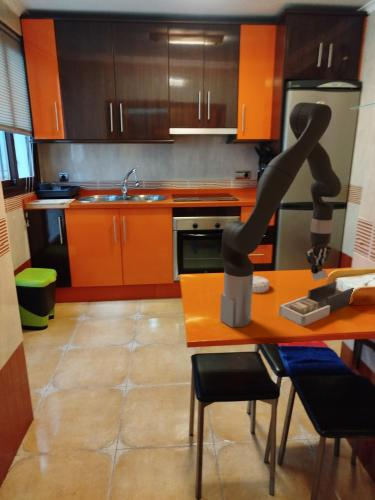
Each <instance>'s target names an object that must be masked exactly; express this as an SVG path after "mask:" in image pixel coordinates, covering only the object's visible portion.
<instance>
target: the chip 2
mask: <svg viewBox="0 0 375 500" xmlns="http://www.w3.org/2000/svg"><path fill="white" fill-rule="evenodd" d="M301 303H302V304H304V305H307V306H308V311H307V313H310V312H312V311H315V310H317V309H318V302H316V301H313V300H310V299H308V298H307V299H306V300H304V301H301Z"/></svg>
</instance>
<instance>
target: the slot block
mask: <svg viewBox="0 0 375 500" xmlns="http://www.w3.org/2000/svg"><path fill="white" fill-rule="evenodd" d="M337 283H338V282H337V281H332V282H329V283H326V284H324V285H321V286H317V287H315V288H312V289H309V290H307V291H308V294H307V297H308V298H307V299H310V300H313V301H316V302H318V309H320V308H322V307H325V306H327V305H329V306H330V312H329V314H331V313H333V312H336V311H339V310H340V309H342V308H346V307H347V306H350V305H349V303H350V297H351V294H352V292H353V289H354V288H355V287H350V288H348V289H346V290H343V291H341V290H339V289H337Z"/></svg>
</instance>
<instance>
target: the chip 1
mask: <svg viewBox="0 0 375 500" xmlns="http://www.w3.org/2000/svg"><path fill="white" fill-rule="evenodd" d="M290 309H291V310H293V311H295V312H298V313H300V314H302V315H305V314H307V311H308V306H307V305H304V304H302V303H300V302H297V303H294V304H291V306H290Z"/></svg>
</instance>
